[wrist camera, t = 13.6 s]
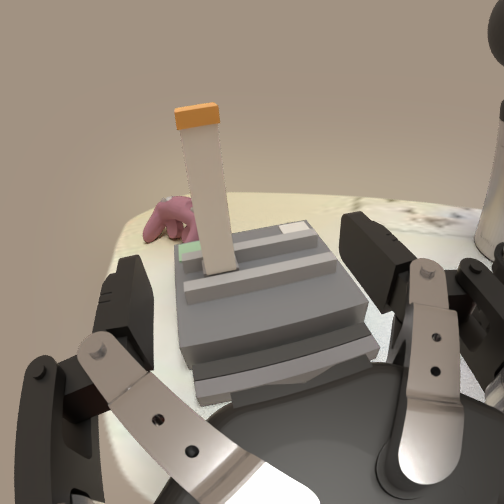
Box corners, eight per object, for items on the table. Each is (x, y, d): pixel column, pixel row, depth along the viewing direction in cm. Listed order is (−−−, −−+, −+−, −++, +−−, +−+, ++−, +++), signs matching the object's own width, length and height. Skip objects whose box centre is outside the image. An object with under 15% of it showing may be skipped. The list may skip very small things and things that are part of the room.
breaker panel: (305, 241, 35) (306, 208, 33) (362, 325, 24) (372, 287, 22) (179, 267, 33) (171, 233, 31) (189, 369, 22) (174, 334, 19)
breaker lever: (235, 263, 28) (214, 101, 19) (241, 281, 25) (219, 105, 17) (203, 269, 27) (173, 108, 19) (206, 288, 25) (172, 113, 17)
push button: (448, 309, 24) (482, 220, 18) (487, 308, 23) (524, 225, 17) (464, 364, 19) (518, 272, 13) (507, 359, 18) (560, 274, 12)
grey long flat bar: (360, 332, 24) (363, 321, 23) (376, 357, 21) (380, 347, 20) (196, 374, 22) (192, 365, 21) (200, 406, 19) (196, 397, 18)
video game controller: (213, 262, 36) (224, 206, 34) (184, 266, 32) (195, 204, 31) (165, 239, 42) (173, 191, 40) (139, 241, 38) (146, 189, 36)
